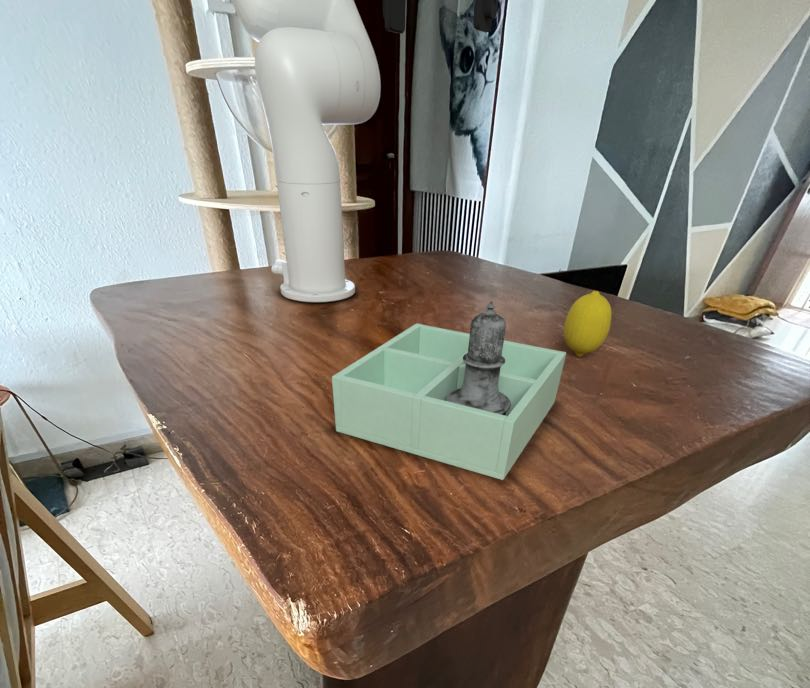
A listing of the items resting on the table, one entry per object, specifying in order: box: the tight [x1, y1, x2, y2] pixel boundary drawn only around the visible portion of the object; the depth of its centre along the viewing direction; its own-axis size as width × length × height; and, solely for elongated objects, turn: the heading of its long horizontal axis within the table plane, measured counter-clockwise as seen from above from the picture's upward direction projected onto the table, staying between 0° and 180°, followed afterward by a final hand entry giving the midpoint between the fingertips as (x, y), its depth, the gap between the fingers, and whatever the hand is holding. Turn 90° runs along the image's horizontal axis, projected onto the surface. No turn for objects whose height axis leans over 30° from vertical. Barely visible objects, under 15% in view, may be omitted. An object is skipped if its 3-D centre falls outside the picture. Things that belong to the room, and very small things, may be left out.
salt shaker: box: [446, 300, 511, 415], centre depth 43 cm, size 6×6×12 cm
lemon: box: [563, 290, 612, 358], centre depth 62 cm, size 6×6×8 cm
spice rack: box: [331, 322, 567, 481], centre depth 50 cm, size 17×17×6 cm
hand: (437, 31), depth 49 cm, fingers open, 9 cm apart
